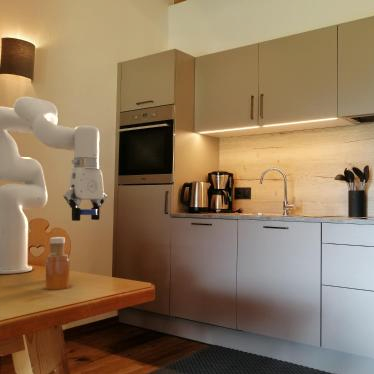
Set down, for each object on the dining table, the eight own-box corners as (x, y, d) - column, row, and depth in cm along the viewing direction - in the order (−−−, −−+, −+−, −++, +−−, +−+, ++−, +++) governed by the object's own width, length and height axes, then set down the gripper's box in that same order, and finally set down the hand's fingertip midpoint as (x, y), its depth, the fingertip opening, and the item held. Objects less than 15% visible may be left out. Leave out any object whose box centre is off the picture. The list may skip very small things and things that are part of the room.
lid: (99, 214, 133) (99, 209, 134) (76, 214, 130) (76, 209, 130) (94, 213, 139) (95, 208, 139) (72, 214, 136) (72, 208, 136)
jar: (41, 287, 123) (41, 255, 123) (62, 284, 128) (63, 253, 128) (52, 290, 119) (52, 257, 119) (73, 287, 124) (74, 255, 124)
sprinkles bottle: (65, 278, 137) (66, 237, 138) (50, 280, 135) (51, 238, 135) (63, 276, 141) (63, 236, 141) (48, 278, 138) (48, 237, 139)
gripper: (71, 161, 126) (70, 221, 125) (115, 166, 141) (115, 219, 140) (54, 163, 129) (54, 221, 129) (99, 167, 145) (99, 219, 144)
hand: (85, 219), depth 135 cm, fingers closed on lid, 6 cm apart
